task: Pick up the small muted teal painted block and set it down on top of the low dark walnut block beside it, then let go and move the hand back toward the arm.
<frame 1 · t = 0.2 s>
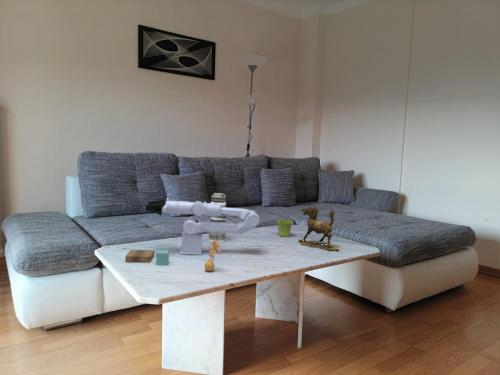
hand: (147, 205, 161), 21 cm above the table, tool horizontal, fingers open, 7 cm apart
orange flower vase: (211, 270, 142), on the table
walnut block: (140, 260, 153), on the table
decorative candle: (216, 240, 191), on the table
teal block: (162, 263, 148), on the table
plant pot: (284, 236, 208), on the table
figurine 2: (318, 246, 189), on the table
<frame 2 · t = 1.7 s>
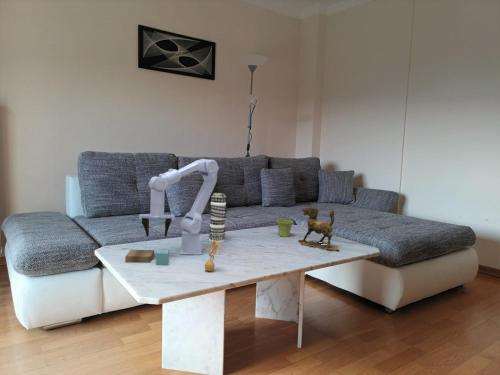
hand: (156, 236, 155), 9 cm above the table, tool pointing down, fingers open, 7 cm apart
nothing on the table moved.
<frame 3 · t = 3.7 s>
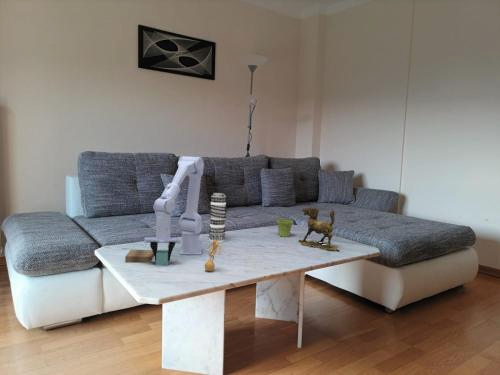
hand: (162, 260, 148), 1 cm above the table, tool pointing down, fingers closed on teal block, 4 cm apart
teal block: (162, 263, 148), on the table, touching gripper
everything else where it was.
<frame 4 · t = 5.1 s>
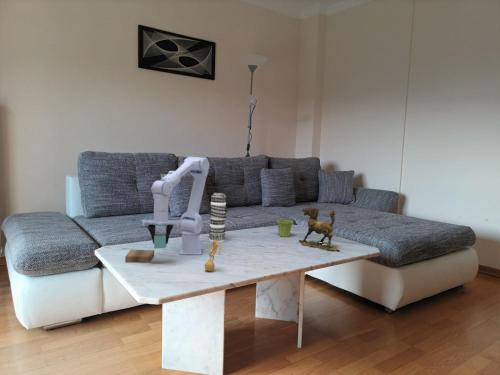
hand: (160, 243, 148), 8 cm above the table, tool pointing down, fingers closed on teal block, 4 cm apart
teal block: (160, 246, 148), point 7 cm above the table, touching gripper
everything else where it was.
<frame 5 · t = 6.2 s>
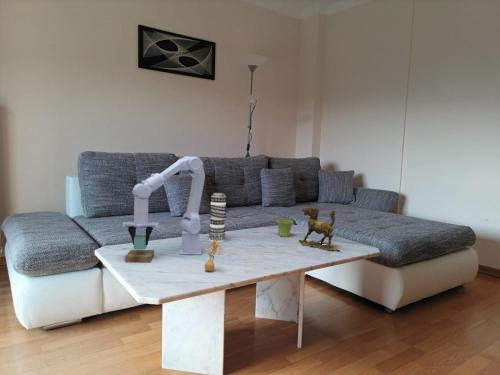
hand: (140, 244, 152), 6 cm above the table, tool pointing down, fingers closed on teal block, 4 cm apart
teal block: (140, 247, 152), point 5 cm above the table, touching gripper
everything else where it was.
when the fingers open (5 cm above the table, at t = 6.9 s): teal block drops 1 cm, point 2 cm above the table.
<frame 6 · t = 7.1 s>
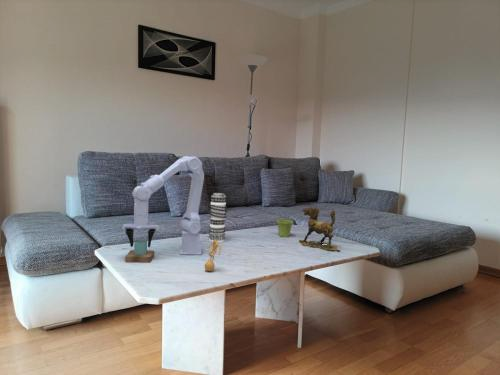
hand: (140, 246, 152), 5 cm above the table, tool pointing down, fingers open, 6 cm apart
teal block: (140, 253, 153), point 2 cm above the table
everything else where it was.
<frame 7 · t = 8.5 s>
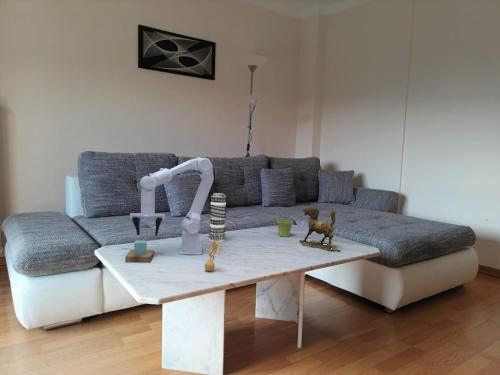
hand: (147, 234, 157), 9 cm above the table, tool pointing down, fingers open, 7 cm apart
walnut block: (140, 260, 153), on the table, touching teal block
teal block: (140, 253, 153), point 2 cm above the table, touching walnut block
everything else where it was.
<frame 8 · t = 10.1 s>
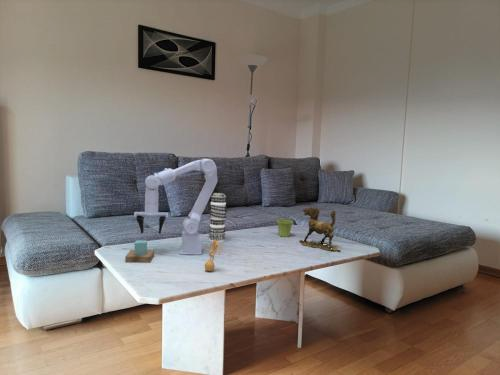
hand: (151, 233, 160), 9 cm above the table, tool pointing down, fingers open, 7 cm apart
nothing on the table moved.
at the end: teal block 0.3 cm off-centre on the walnut block, point 3.0 cm above the walnut block's base; teal block tilted 0°; the gripper is holding nothing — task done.
